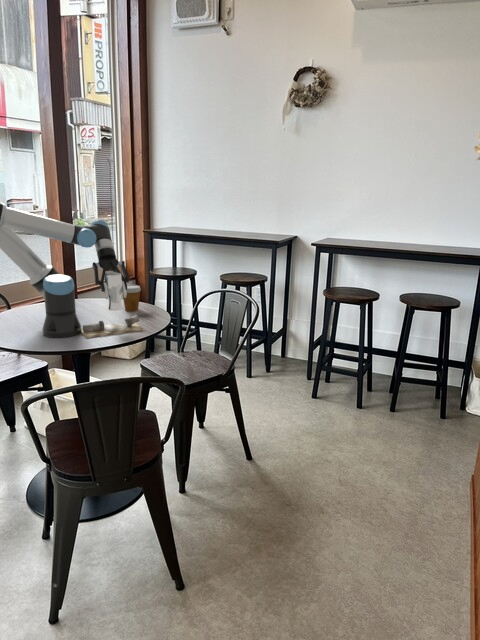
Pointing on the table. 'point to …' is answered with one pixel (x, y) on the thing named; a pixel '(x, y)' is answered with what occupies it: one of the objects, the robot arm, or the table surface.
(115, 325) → the shaft cradle
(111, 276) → the beer glass
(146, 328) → the table surface
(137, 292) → the disposable coffee cup
